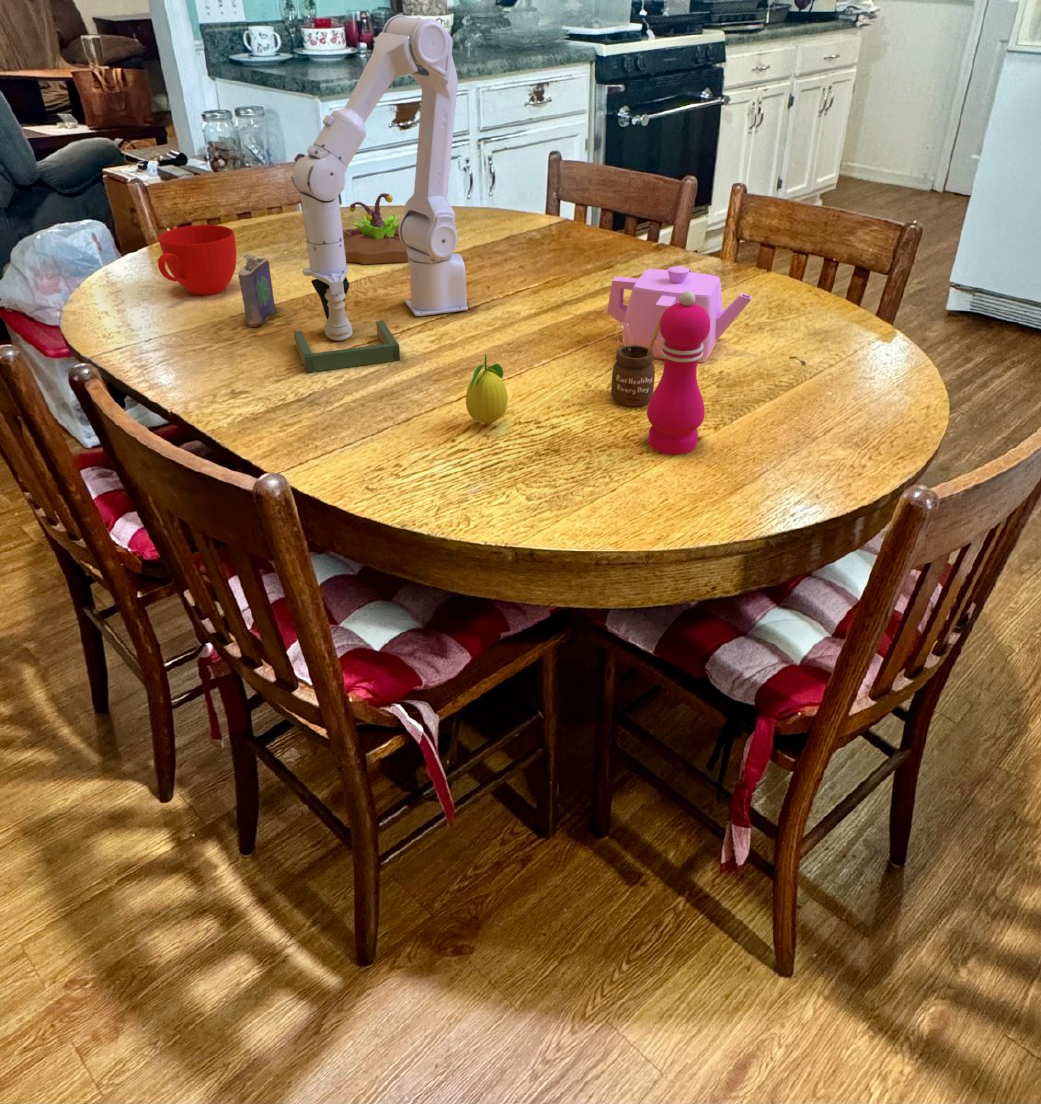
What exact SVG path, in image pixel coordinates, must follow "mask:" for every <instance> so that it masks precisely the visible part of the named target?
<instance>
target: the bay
mask: <svg viewBox="0 0 1041 1104" xmlns="http://www.w3.org/2000/svg"><path fill="white" fill-rule="evenodd" d="M375 325H376V336H377V337H378V339H379V341H380V342H381V343H380V344H374V345H373V344H372V345H366V346H359V347H351V348H350V347H349V348H343V349H335V350H329V351H319V352H313V353H312V351H311V349H310V347H309V345H308V343H307V340H306V338H305V336H304V332H303V331H302V330H295V331H293V336H294V341H295V342H294V343H295V347H296V351H297V352H298V355H299V357H300V360H301V362H302V365H303V367H304V370H305V372H306V374H310V373H316V372H324V371H332V370H339V369H346V368H352V367H360V366H368V365H375V364H381V363H389V362H396V361H401V352H400V344H399V343H398V341H397V340H396V338H395V337H394V335H393V334H392V332H391V330H390V329H389V328H388V326H387V324H386V322H385V321H384V320H377V321H376V322H375Z"/></svg>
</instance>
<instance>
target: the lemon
mask: <svg viewBox="0 0 1041 1104" xmlns="http://www.w3.org/2000/svg"><path fill="white" fill-rule="evenodd" d="M487 357H488V355H487V354H486V353H485V354H484V362H483V364H480V365H478V366H477V367H476V368H475V369H474V371H473V375H472V379H471V380H470V381H469V383H468V386H467V390H466V394H465V407H466V410H467V413H468V414H469V416H470V418H471V419H473V420H475V421H476V422H478V423H482V424H484V425H485V426H490V425H491V424H492V423H494V422H496V421H497V420H500V419H501V418H502V417H503V416H504V415H505V413H506V412H507V409H508V400H509V399H508V397H509V396H508V391H507V387H506V385H505V383H504V381H503V378H504V369H503V367H502V366H501V364H499V363H494V364H492V365H488V362H487V361H488V360H487ZM483 367H484V370H483V371H482V369H483ZM481 371H482V372H481Z"/></svg>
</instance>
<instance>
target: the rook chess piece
mask: <svg viewBox="0 0 1041 1104" xmlns="http://www.w3.org/2000/svg"><path fill="white" fill-rule="evenodd" d="M346 296H347V294H346V295H345V293H340V294H331V293H330V287H329V289H327V293H326V294H325V298H326V299H327V300H328V303H327V306H328V307H329V318H328V320H327V319H326V323H325V324H324V329H325V332H324V333H325V336H326V337H327V338H328V339H329V340H332V341H334V342H343V341H346V340H348V339H350V338H351V336H352V335H353V332H354V330H353V329H352V328H353V326H352V323H351V321H349V320H350V319H349V318H348V317H347V315H346V310H345V306H346V303H345V302H346V301H343V300H344V298H345V299H346Z"/></svg>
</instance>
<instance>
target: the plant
mask: <svg viewBox="0 0 1041 1104" xmlns="http://www.w3.org/2000/svg"><path fill="white" fill-rule="evenodd" d="M382 198H384V201H386V202H387V203H388V204H389V203H393V196H392V195H391V194H390V193H385V192H384V193H379V195H378V196H377V198H376V200H375V203H374V210H373V209H372V208H371V207H369V205H367V204H366V203H363V202H361V201H355V202H353V203H351V204H350V205H349V207H348V209H349V211H350V212H352V213H354V212H355V211H356V206H361V207H362V208H364V211H366V214H365V215H364V216H363V219H362V218H359V219H358V220H359V222H360V223H361V224H360V223H357V222H352V224H353V225H354V227H356V228H347V229H342V231H343V239H344V248H345V257H346V264H347V263H356V264H361V265H375V264H376V265H377V264H392V263H393V264H394V263H395V264H396V263H409V262H408V254H407V247H406V246H405V245H404V244H403V243H402V242H401V240H400V238H399V232H398V230H399V224H400V222H397V223H396V220H397V215H396V214H394V215H390V216H389V217H387V218H386V219H385V220H383V218H382V216H381V208H380V203H381V199H382ZM395 223H396V224H395ZM362 225H363V226H362Z"/></svg>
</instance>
